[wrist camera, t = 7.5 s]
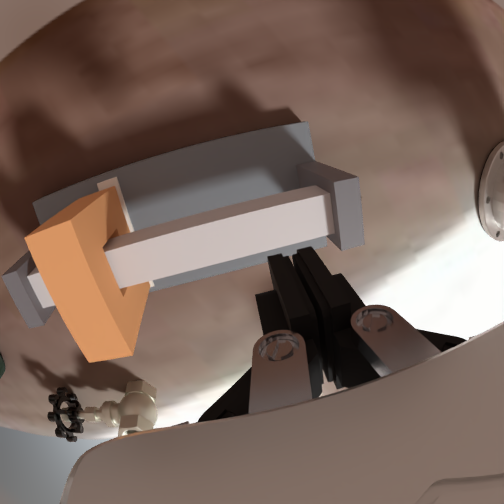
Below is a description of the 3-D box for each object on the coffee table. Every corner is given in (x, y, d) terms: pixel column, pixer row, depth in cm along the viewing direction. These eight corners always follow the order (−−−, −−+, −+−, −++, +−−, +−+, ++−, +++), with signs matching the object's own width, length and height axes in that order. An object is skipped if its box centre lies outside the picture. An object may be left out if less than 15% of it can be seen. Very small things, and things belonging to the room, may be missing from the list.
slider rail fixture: (301, 121, 22) (350, 121, 14) (320, 239, 26) (366, 287, 18) (40, 198, 21) (-17, 232, 13) (82, 300, 25) (50, 361, 17)
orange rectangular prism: (114, 185, 20) (70, 220, 12) (150, 285, 23) (132, 355, 16) (78, 198, 19) (24, 237, 12) (116, 294, 23) (89, 362, 15)
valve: (147, 367, 29) (56, 376, 28) (140, 416, 23) (40, 417, 22) (168, 406, 32) (82, 411, 31) (166, 452, 26) (71, 452, 25)
